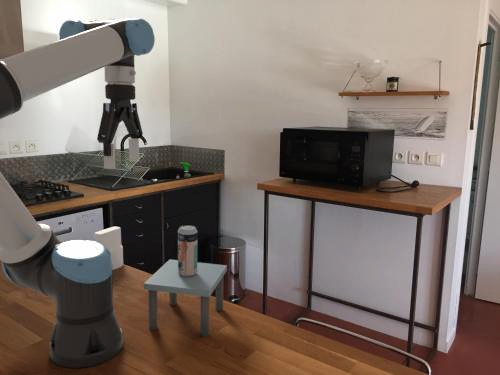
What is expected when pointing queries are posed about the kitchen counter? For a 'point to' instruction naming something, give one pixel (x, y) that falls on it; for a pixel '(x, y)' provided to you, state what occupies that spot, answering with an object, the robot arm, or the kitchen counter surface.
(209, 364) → the kitchen counter surface
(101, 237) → the base with upright slab
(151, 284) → the pale blue square-topped fixture
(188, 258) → the beer can
